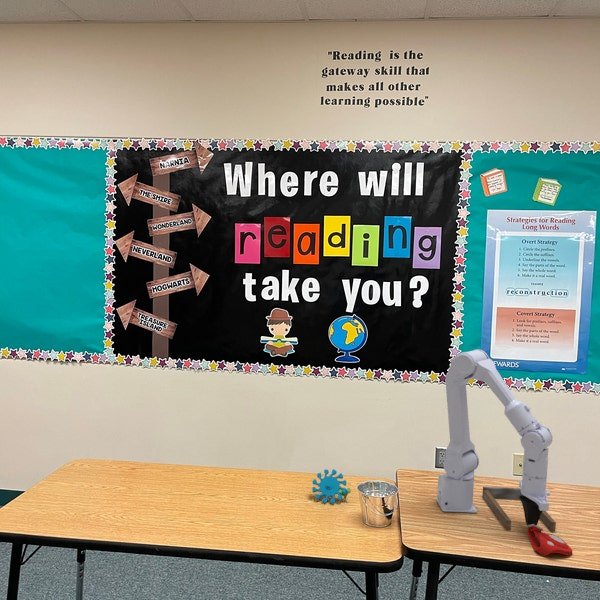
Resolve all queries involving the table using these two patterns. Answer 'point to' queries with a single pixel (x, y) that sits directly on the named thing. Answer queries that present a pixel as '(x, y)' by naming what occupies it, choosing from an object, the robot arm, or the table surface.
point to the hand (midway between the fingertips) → (531, 526)
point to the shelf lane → (510, 493)
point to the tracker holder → (547, 542)
